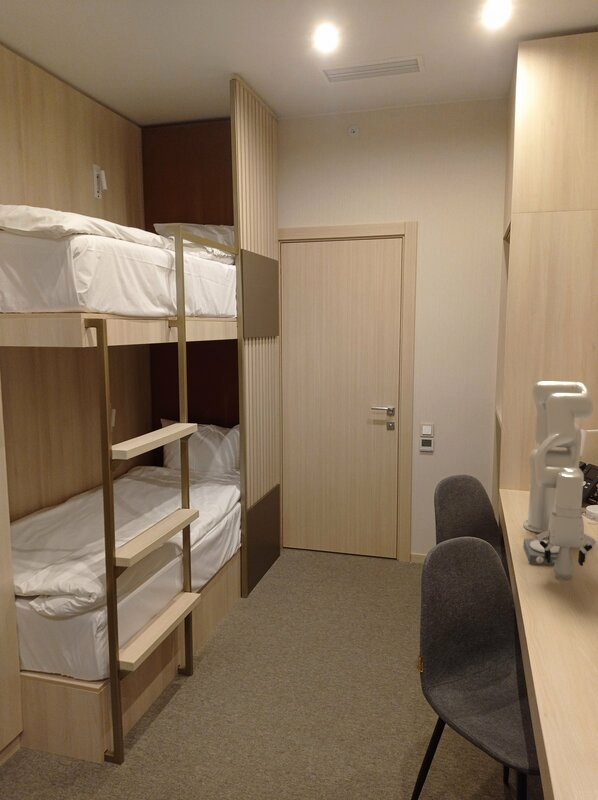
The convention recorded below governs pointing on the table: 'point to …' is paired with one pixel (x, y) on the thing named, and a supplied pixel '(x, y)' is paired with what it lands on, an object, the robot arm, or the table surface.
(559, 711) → the table surface
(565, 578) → the salt shaker
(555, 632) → the table surface
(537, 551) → the scale
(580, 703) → the table surface
